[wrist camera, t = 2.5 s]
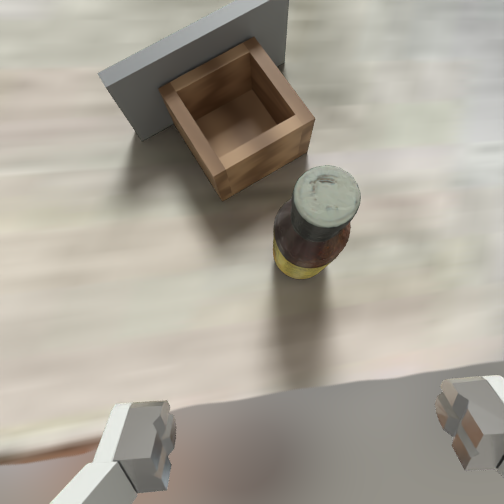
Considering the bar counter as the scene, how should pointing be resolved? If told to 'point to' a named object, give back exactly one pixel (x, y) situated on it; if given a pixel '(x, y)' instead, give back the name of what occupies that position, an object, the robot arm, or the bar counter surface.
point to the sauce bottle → (315, 221)
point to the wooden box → (239, 117)
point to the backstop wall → (191, 57)
